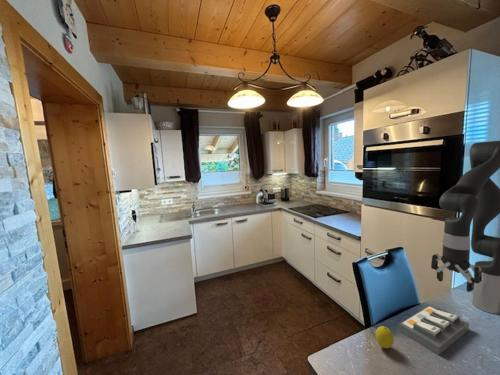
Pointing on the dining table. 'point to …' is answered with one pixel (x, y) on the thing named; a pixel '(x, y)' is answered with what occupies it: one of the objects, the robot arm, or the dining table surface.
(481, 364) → the dining table surface
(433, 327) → the switch
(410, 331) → the switch unit
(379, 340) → the lemon
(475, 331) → the dining table surface
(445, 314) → the switch
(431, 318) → the switch mid
